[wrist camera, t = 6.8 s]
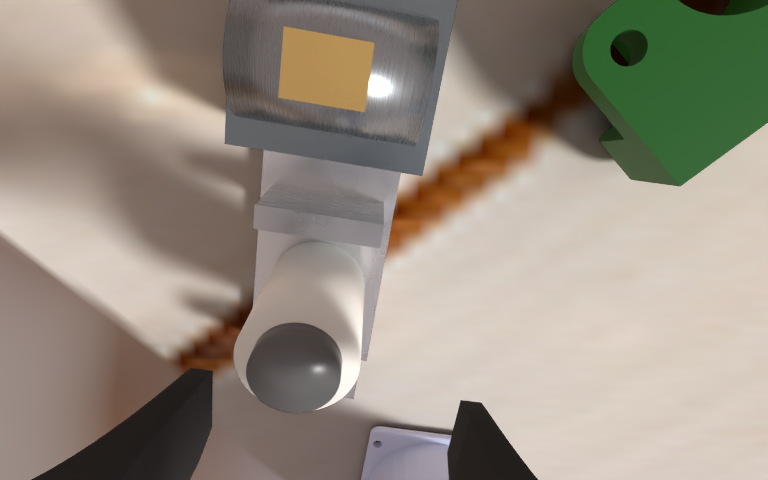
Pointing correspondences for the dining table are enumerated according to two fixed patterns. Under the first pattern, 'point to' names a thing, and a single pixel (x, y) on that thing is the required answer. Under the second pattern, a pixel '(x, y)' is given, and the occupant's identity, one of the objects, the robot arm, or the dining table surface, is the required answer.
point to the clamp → (675, 83)
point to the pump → (304, 330)
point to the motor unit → (333, 119)
